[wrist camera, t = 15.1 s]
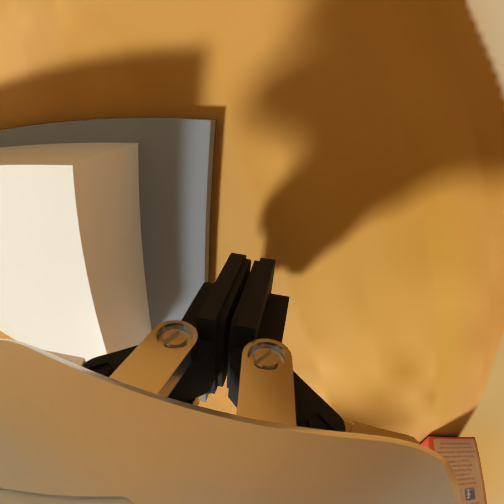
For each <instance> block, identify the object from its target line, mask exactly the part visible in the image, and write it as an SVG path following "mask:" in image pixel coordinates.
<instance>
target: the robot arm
mask: <svg viewBox="0 0 504 504" xmlns="http://www.w3.org/2000/svg"><path fill="white" fill-rule="evenodd" d="M250 267H251V260H249V259H246V255H242V254H236V253H231V254H230V256H229V258H228V260H227V262H226V263H225V265H224V267H223V269H222V271H221V273H220V274H219V276H218V278H217V280H216V282H215V283H210V282H204V283H203V285H202V286H201V288H200V290H199V291H198V293H197V295H196V296H195V298H194V300H193V301H192V303H191V305H190V306H189V308H188V310H187V312H186V313H185V315H184V317H183V318H182V320H170V321H165V322H163V323H160V324H159V325H157V326H156V327H155V328H154V329H153V330H152V331H151V332H150V333H149V334H148V335H147V337H146V338H145V339H144V340H143V341H142V342H141V343H140V344H139V345H136V346H133V347H130V348H126V349H123V350H119V351H116V352H112V353H109V354H105V355H101V356H98V357H95V358H92V359H90V360H88V361H85V358H83V357H77V356H72V355H66V354H61V353H56V352H51V351H47V350H42V349H39V348H37V347H35V346H32V345H29V344H26V343H23V342H18V341H14V340H9V339H0V504H462V499H461V493H460V489H459V485H458V481H457V478H456V475H455V473H454V470H453V468H452V466H451V465H450V464H449V462H448V461H447V460H446V459H445V458H444V457H443V456H442V455H440V454H439V453H437V452H435V451H433V450H431V449H429V448H427V447H424V446H421V445H420V443H419V442H418V441H417V440H416V439H415V438H414V437H411V436H409V435H405V434H401V433H397V432H392V431H388V430H384V429H380V428H376V427H372V426H369V425H365V424H361V423H358V422H353V424H349V423H346V422H344V421H343V419H342V418H341V417H340V416H339V414H338V413H336V412H335V411H334V410H333V409H332V408H331V407H330V406H329V405H328V404H327V403H326V402H325V401H324V400H323V399H322V398H321V397H320V396H319V395H317V394H316V393H315V392H314V391H313V390H312V389H311V388H310V387H309V386H308V385H307V384H306V383H305V382H304V381H303V380H302V379H301V378H300V377H299V376H298V375H297V374H296V373H295V372H294V371H293V365H292V355H291V352H290V350H289V349H288V348H287V347H286V346H285V345H284V344H282V338H283V332H284V326H285V321H286V314H287V308H288V302H289V297H288V296H282V295H276V294H271V290H272V282H273V275H274V268H275V260H272V259H266V258H261V259H260V261H254V264H253V266H252V269H251V272H250ZM226 376H227V388H229V393H228V397H229V398H230V400H231V401H232V402H233V403H234V405H235V406H236V407H237V414H236V415H233V414H229V413H225V412H220V411H216V410H212V409H208V408H204V407H200V406H198V404H199V402H200V400H201V396H202V395H204V394H207V393H213V394H215V392H216V389H217V386H221V387H223V385H224V382H225V379H226Z"/></svg>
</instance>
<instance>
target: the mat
mask: <svg viewBox="0 0 504 504" xmlns="http://www.w3.org/2000/svg"><path fill="white" fill-rule="evenodd" d="M215 123H216V120H213V119H194V118H107V119H89V120H75V121H64V122H54V123H45V124H37V125H29V126H22V127H15V128H9V129H3V130H0V147H11V146H23V145H38V144H57V143H138V168H139V203H140V222H141V238H142V251H143V262H144V273H145V282H146V291H147V300H148V308H149V315H150V322H151V329H152V330H153V329H154V328H155V327H156V326H157V325H159V324H160V323H163V322H165V321H170V320H182V318H183V317H184V315H185V313H186V312H187V310H188V308H189V306H190V305H191V303H192V301H193V300H194V298H195V296H196V295H197V293H198V291H199V290H200V288H201V286H202V285H203V283H204V282H208V278H209V240H210V212H211V190H212V171H213V153H214V137H215ZM207 397H208V393H207V394H204V395H202V396H201V401H205V402H206V400H207Z"/></svg>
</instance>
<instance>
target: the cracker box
mask: <svg viewBox="0 0 504 504" xmlns="http://www.w3.org/2000/svg"><path fill="white" fill-rule="evenodd" d="M420 445H421V446H424V447H427V448H429V449H431V450H433V451H435V452H437V453H439V454H440V455H442V456H443V457H444V458H445V459H446V460H447V461H448V462H449V464H450V465H451V466H452V468H453V470H454V473H455V475H456V478H457V481H458V485H459V489H460V493H461V499H462V504H487V502H486V495H485V494H486V493H485V487H484V480H483V475H482V469H481V463H480V458H479V453H478V449H477V444H476V440H475V437H433V436H429V437H427V438H426V439H425V440H424V441H423V442H422V443H421V444H420Z"/></svg>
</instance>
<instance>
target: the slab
mask: <svg viewBox="0 0 504 504" xmlns="http://www.w3.org/2000/svg"><path fill="white" fill-rule="evenodd" d="M0 331H2V332H3V333H5V334H7V335H8V336H10V337H12V338H13V339H15V340H17V341H19V342H23V343H26V344H29V345H32V346H35V347H37V348H39V349H42V350H47V351H51V352H56V353H61V354H66V355H72V356H77V357H83V358H85V361H88V360H90V359H92V358H95V357H98V356H101V355H105V354H109V353H112V352H116V351H119V350H123V349H126V348H130V347H133V346H136V345H139V344H140V343H141V342H142V341H143V340H144V339H145V338H146V337H147V335H148V334H149V333H150V332H151V331H152V329H151V322H150V315H149V308H148V300H147V291H146V282H145V273H144V262H143V251H142V238H141V222H140V203H139V168H138V143H57V144H38V145H23V146H11V147H0Z"/></svg>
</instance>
